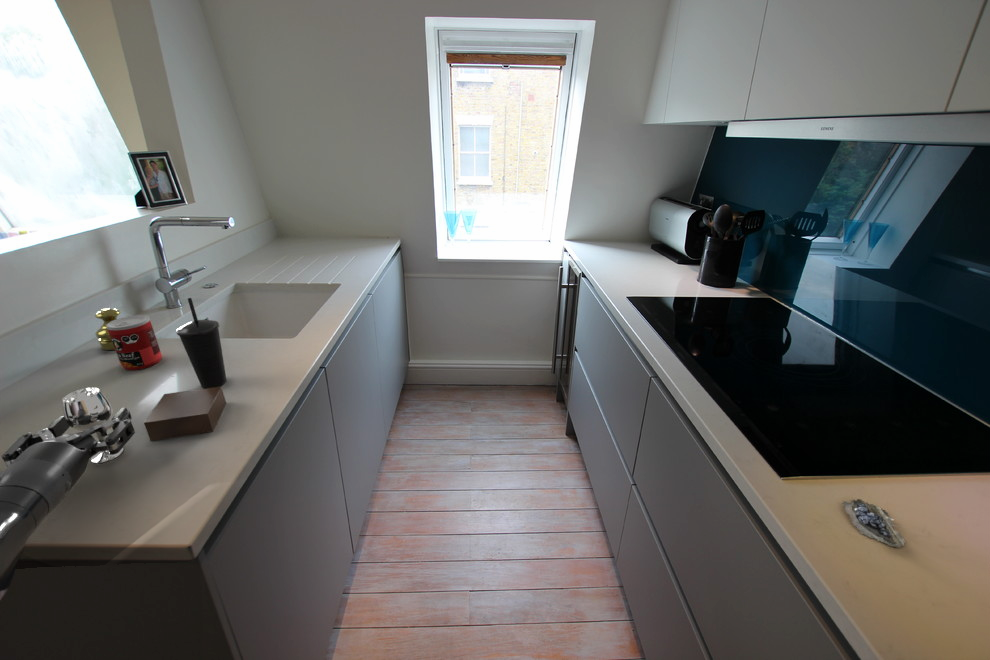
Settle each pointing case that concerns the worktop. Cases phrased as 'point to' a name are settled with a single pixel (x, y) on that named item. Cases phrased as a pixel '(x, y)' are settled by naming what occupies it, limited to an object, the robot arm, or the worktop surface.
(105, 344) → the brass candlestick
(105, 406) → the wineglass
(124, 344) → the canned food
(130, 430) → the robot arm
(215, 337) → the drinking cup
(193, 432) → the walnut block
